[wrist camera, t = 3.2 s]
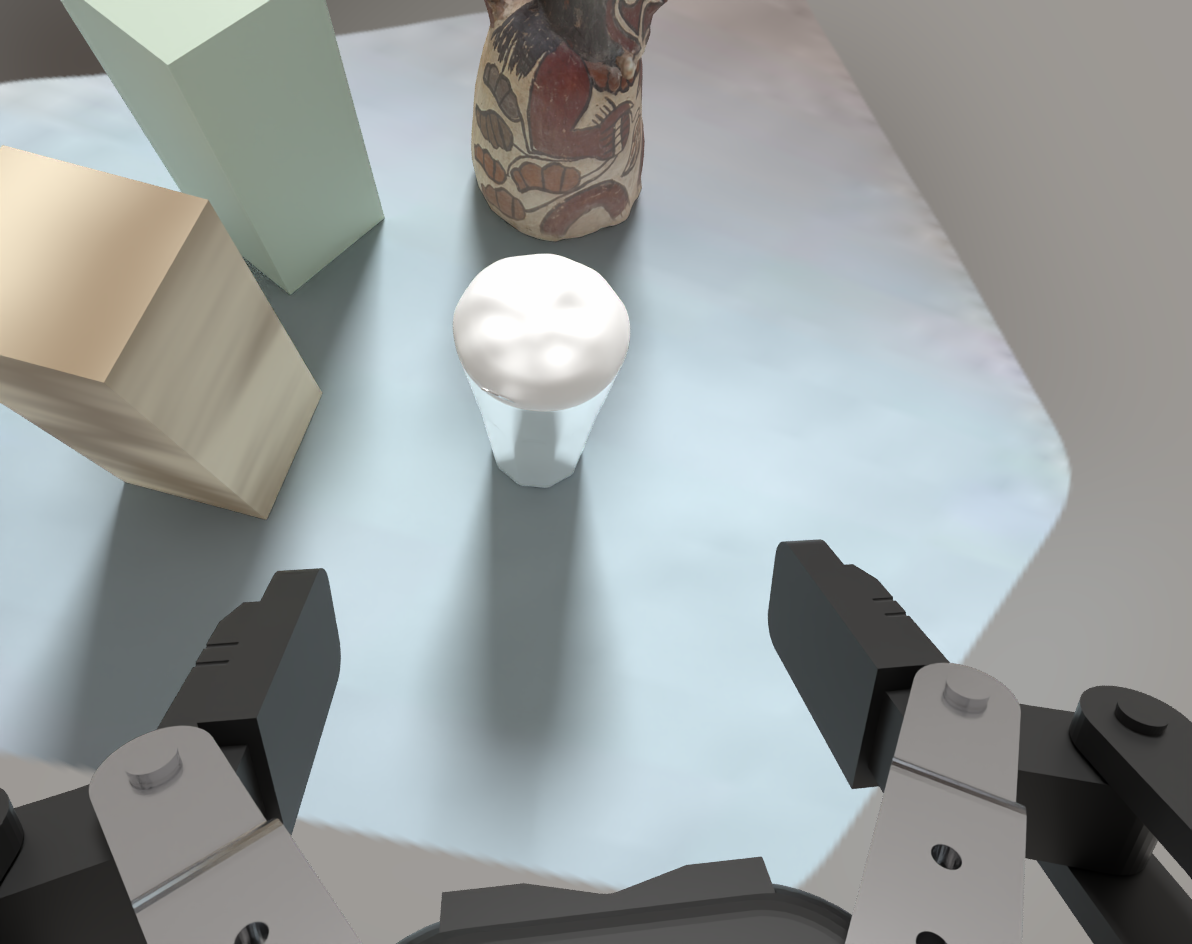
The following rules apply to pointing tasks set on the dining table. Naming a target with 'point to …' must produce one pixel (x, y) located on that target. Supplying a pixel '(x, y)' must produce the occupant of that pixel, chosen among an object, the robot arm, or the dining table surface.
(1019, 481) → the dining table surface
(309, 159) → the sage block
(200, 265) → the beech block
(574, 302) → the milkshake
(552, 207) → the figurine
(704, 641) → the dining table surface
